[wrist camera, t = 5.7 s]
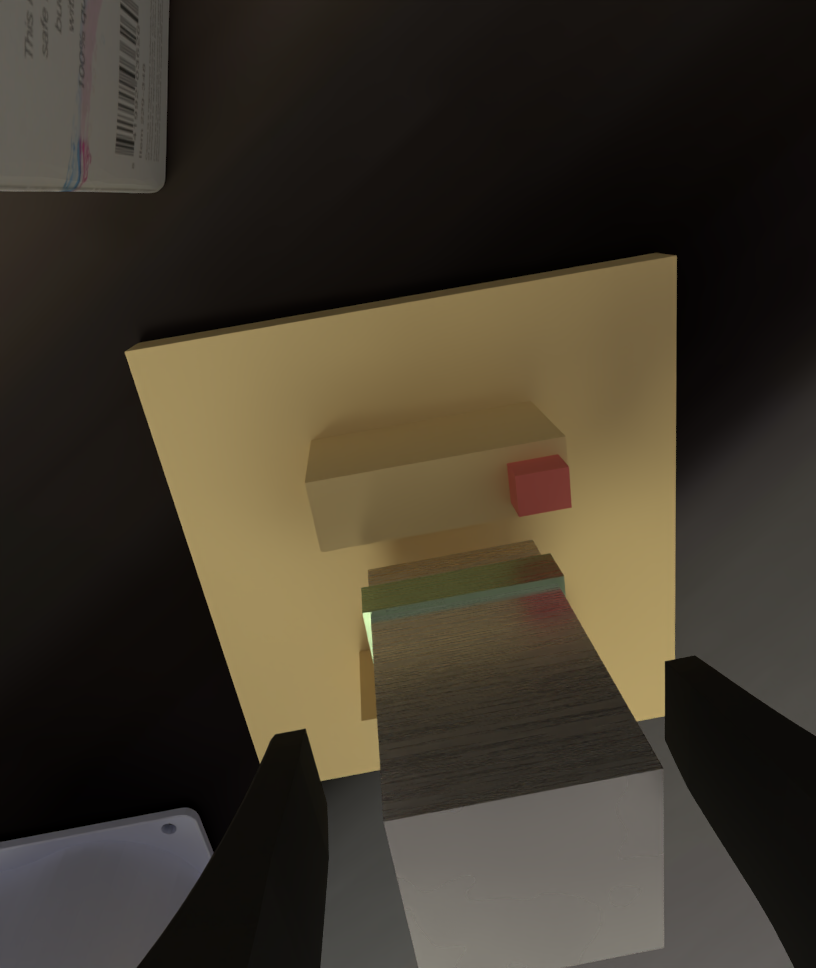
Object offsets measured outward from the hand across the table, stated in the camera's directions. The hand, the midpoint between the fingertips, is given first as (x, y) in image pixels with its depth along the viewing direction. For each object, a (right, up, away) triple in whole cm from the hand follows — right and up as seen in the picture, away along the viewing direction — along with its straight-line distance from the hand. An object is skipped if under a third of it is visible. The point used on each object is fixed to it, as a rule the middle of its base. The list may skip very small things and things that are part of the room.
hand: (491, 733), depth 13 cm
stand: (-1, +3, +7) cm, 8 cm away
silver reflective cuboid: (0, +1, +3) cm, 4 cm away
